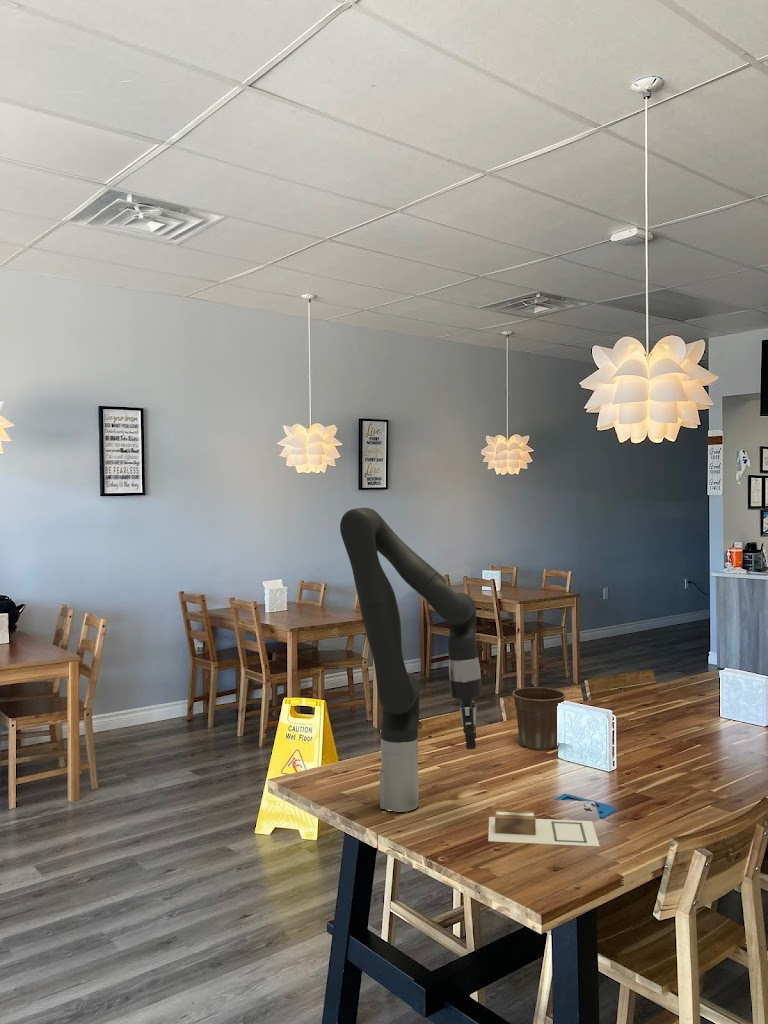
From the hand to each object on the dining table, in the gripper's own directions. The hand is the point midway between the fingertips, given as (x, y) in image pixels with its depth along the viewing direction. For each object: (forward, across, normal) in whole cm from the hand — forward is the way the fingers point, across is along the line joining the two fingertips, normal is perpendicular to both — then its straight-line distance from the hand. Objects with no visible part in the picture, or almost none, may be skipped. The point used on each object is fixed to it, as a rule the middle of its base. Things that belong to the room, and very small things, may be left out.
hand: (471, 743), depth 197 cm
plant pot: (+19, -59, +18) cm, 65 cm away
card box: (+18, +9, +8) cm, 22 cm away
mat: (+19, +9, +14) cm, 25 cm away
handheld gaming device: (+20, -8, +26) cm, 34 cm away
